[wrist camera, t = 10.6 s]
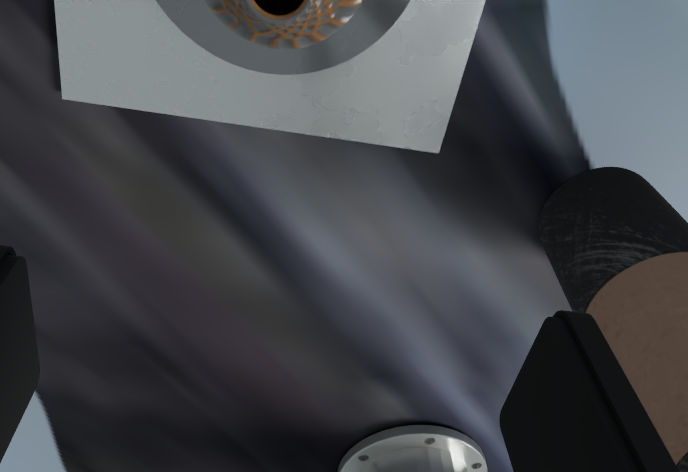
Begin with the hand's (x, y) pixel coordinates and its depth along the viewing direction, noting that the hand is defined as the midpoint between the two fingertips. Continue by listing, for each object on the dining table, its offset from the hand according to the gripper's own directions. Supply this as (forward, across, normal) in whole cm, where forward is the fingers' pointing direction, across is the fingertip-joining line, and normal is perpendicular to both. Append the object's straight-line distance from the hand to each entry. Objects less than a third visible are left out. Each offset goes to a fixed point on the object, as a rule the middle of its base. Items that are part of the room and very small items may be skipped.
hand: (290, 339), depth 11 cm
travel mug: (+24, -20, +9) cm, 32 cm away
